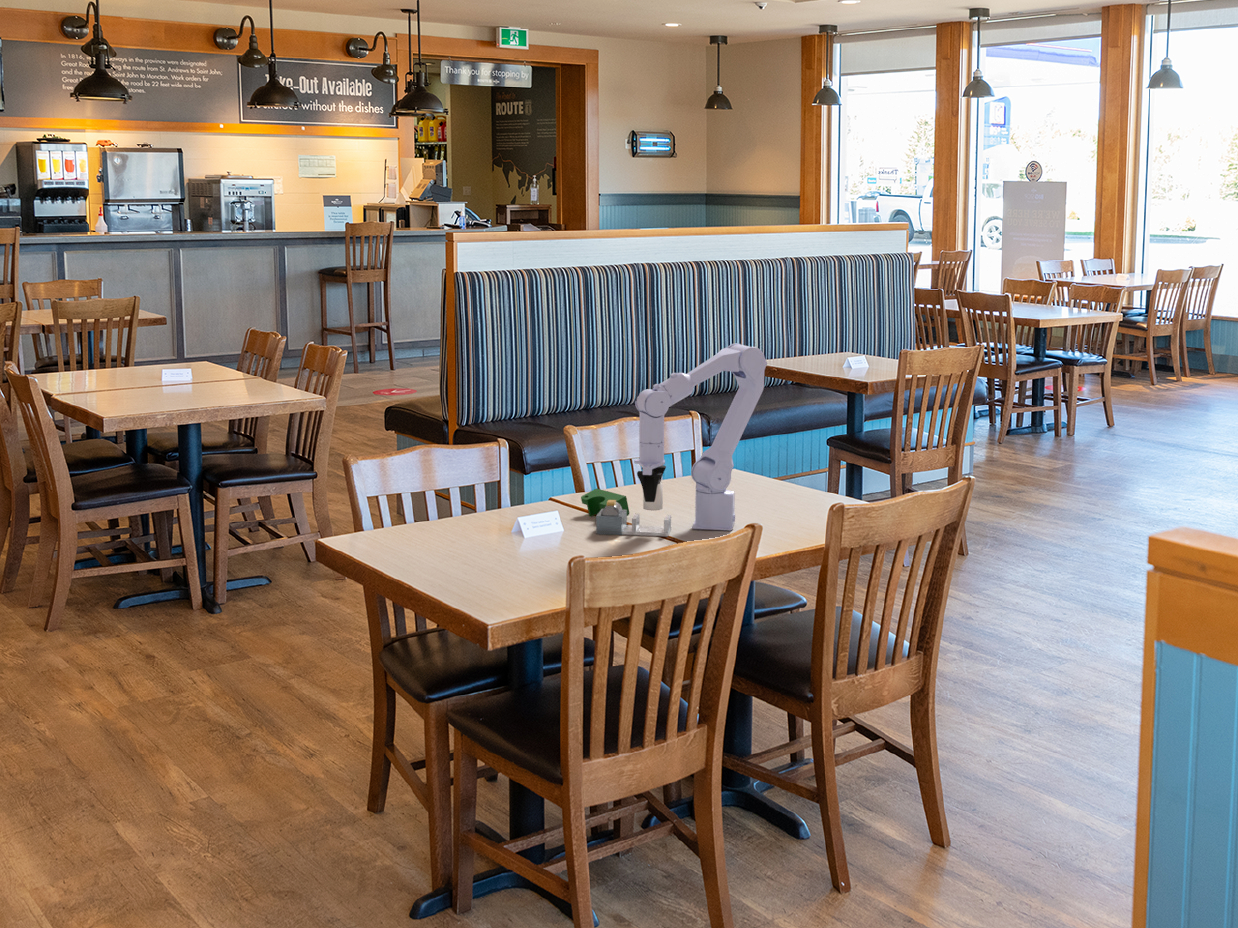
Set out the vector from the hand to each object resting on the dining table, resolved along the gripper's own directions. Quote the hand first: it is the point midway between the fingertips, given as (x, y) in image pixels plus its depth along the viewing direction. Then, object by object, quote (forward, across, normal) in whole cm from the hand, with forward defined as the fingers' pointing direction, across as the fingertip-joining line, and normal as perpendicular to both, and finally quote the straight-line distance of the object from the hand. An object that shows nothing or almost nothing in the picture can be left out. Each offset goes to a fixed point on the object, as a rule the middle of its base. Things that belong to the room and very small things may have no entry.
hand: (651, 499), depth 286 cm
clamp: (+8, -13, -14) cm, 21 cm away
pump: (+2, 0, 0) cm, 2 cm away
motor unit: (+8, 0, -4) cm, 9 cm away
